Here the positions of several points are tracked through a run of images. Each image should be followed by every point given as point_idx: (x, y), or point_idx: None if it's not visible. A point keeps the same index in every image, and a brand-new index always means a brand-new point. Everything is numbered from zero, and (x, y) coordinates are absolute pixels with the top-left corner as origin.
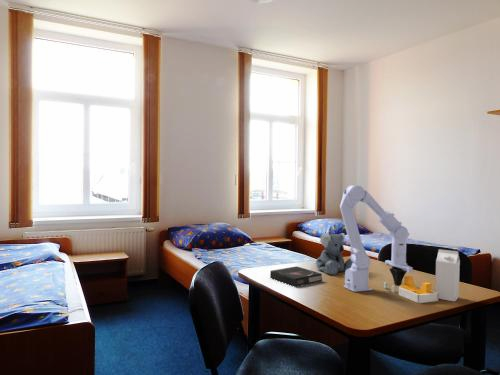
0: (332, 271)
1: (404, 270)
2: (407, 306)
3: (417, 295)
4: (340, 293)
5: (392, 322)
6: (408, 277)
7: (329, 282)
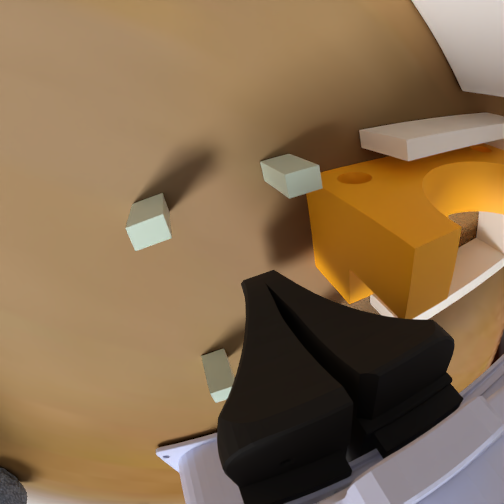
0: (25, 495)
1: (479, 386)
2: (475, 303)
3: (501, 264)
4: None
5: (493, 356)
6: (448, 288)
7: (137, 500)
